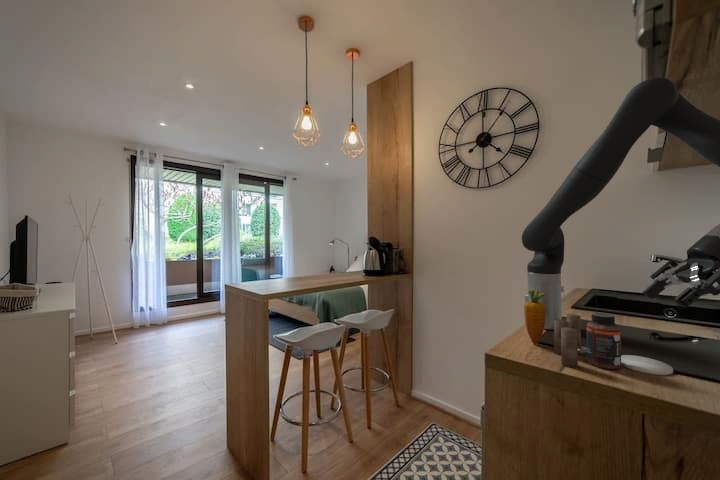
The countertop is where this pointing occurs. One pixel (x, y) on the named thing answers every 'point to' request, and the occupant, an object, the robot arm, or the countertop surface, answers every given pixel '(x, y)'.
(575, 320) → the post
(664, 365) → the coaster
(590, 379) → the countertop surface
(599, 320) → the supplement bottle
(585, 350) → the nut
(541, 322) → the carrot
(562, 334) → the post
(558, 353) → the post
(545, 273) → the robot arm
